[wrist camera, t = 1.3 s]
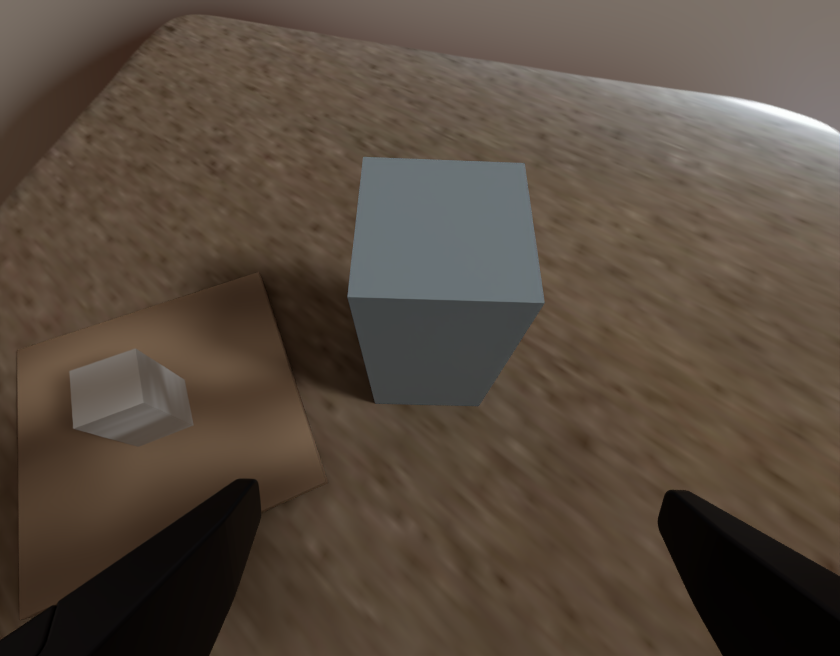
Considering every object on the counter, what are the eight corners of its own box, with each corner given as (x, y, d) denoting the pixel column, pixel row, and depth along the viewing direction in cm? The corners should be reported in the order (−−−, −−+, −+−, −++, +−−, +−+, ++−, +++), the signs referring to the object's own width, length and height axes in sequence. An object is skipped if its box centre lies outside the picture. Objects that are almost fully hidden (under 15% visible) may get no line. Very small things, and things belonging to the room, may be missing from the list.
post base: (328, 482, 21) (306, 471, 16) (31, 617, 18) (-100, 650, 13) (261, 276, 26) (231, 225, 22) (26, 354, 23) (-67, 313, 19)
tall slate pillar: (478, 405, 23) (544, 303, 12) (375, 403, 23) (347, 296, 12) (474, 314, 25) (524, 163, 15) (381, 311, 25) (363, 157, 14)
